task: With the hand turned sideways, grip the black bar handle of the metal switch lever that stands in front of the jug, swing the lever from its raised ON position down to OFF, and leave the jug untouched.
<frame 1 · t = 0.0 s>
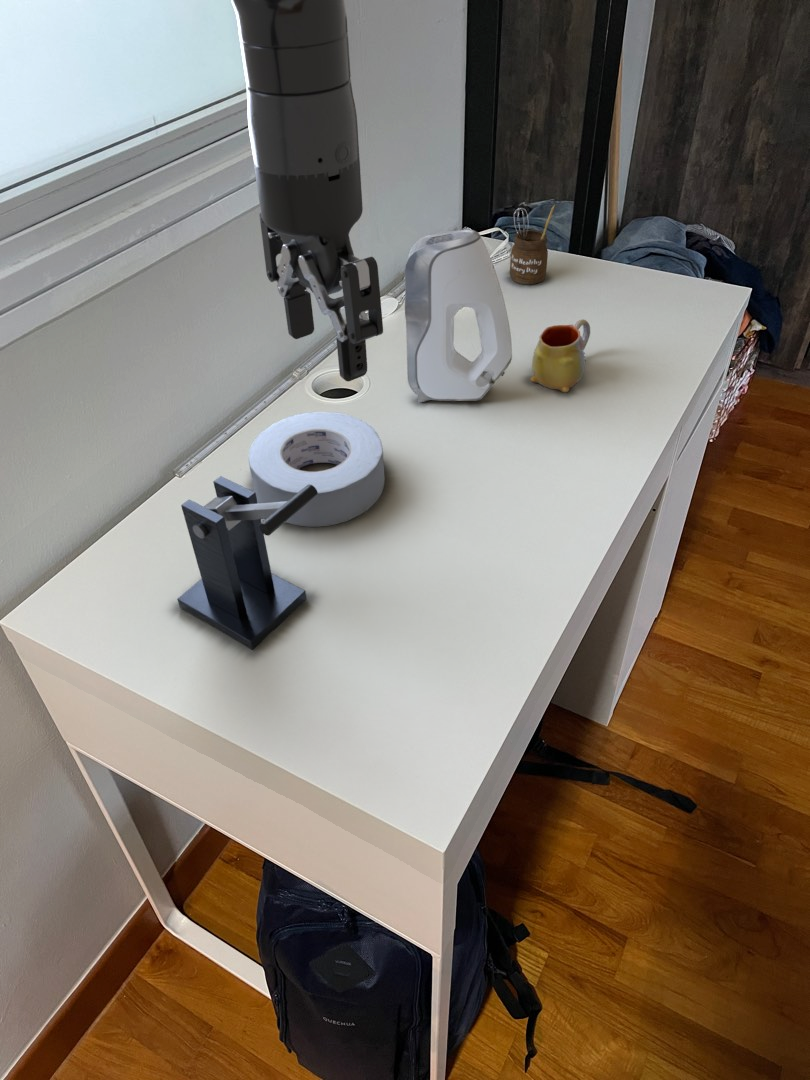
hand: (327, 355, 69), 25 cm above the table, tool pointing down, fingers open, 8 cm apart
utensil holder: (528, 279, 135), on the table
switch lever: (251, 511, 71), point 14 cm above the table, hinge at 28.0°
switch bracket: (243, 603, 83), on the table
mug: (565, 372, 113), on the table
tape roll: (320, 485, 96), on the table
jug: (451, 394, 110), on the table
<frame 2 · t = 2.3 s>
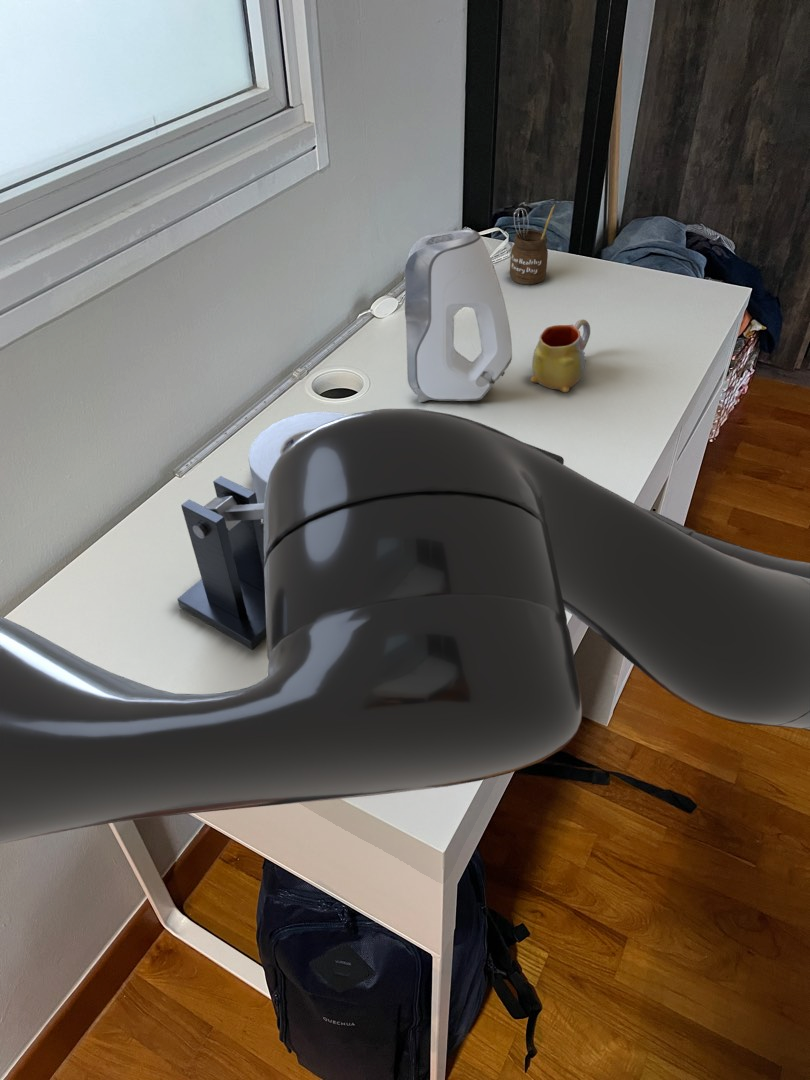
hand: (388, 478, 58), 24 cm above the table, tool horizontal, fingers open, 8 cm apart
nothing on the table moved.
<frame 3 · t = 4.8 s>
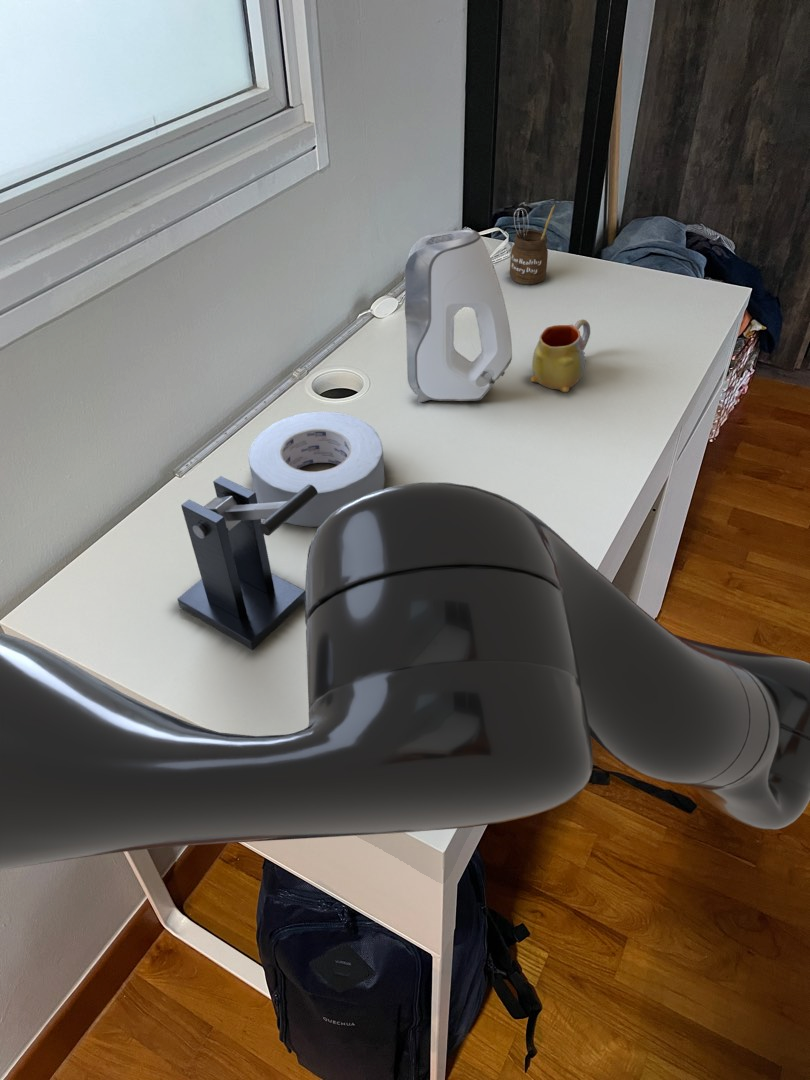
hand: (348, 539, 65), 17 cm above the table, tool horizontal, fingers open, 8 cm apart
nothing on the table moved.
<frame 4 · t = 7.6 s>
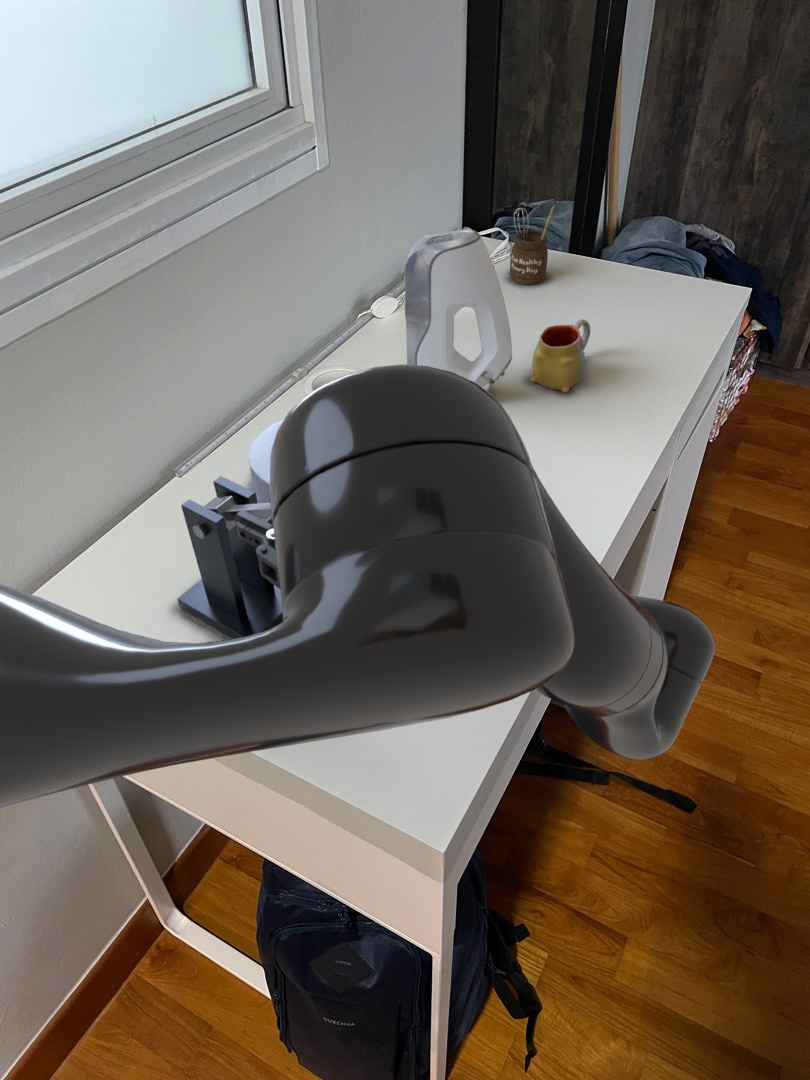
hand: (267, 499, 68), 17 cm above the table, tool horizontal, fingers closed on switch lever, 6 cm apart
switch lever: (251, 511, 71), point 14 cm above the table, hinge at 28.0°, touching gripper
everything else where it was.
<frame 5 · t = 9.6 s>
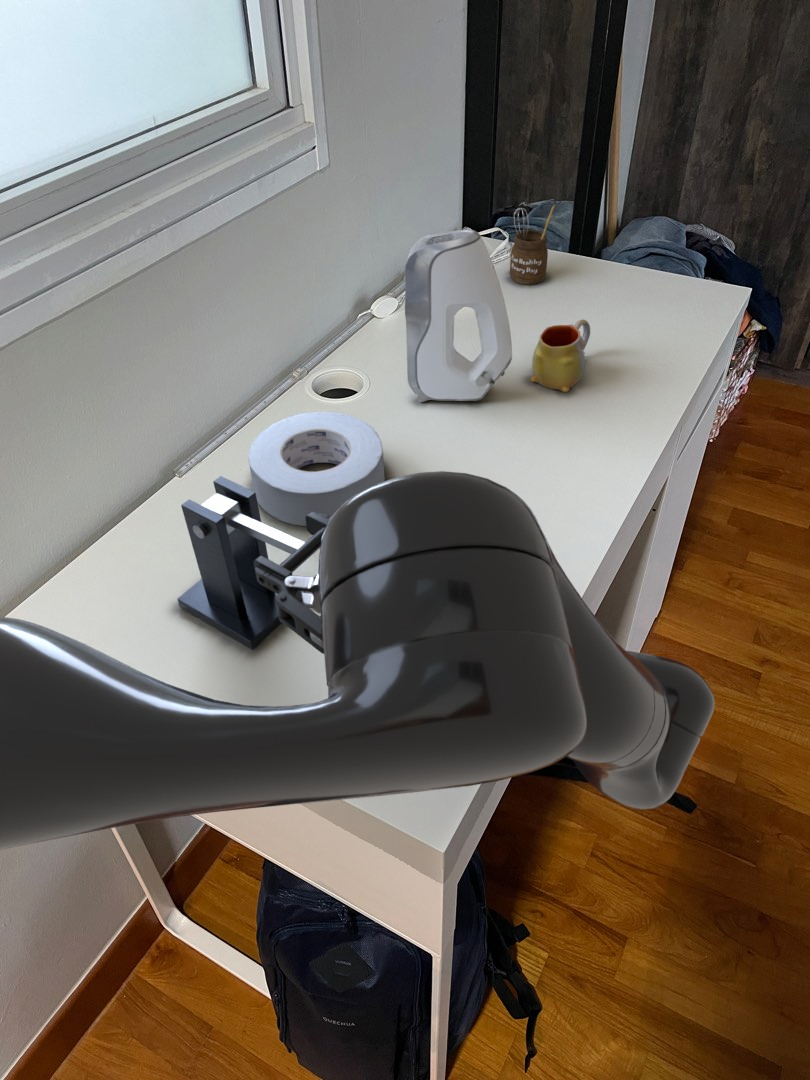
hand: (283, 543, 71), 12 cm above the table, tool horizontal, fingers closed on switch lever, 6 cm apart
switch lever: (259, 530, 72), point 12 cm above the table, hinge at 3.0°, touching gripper
everything else where it was.
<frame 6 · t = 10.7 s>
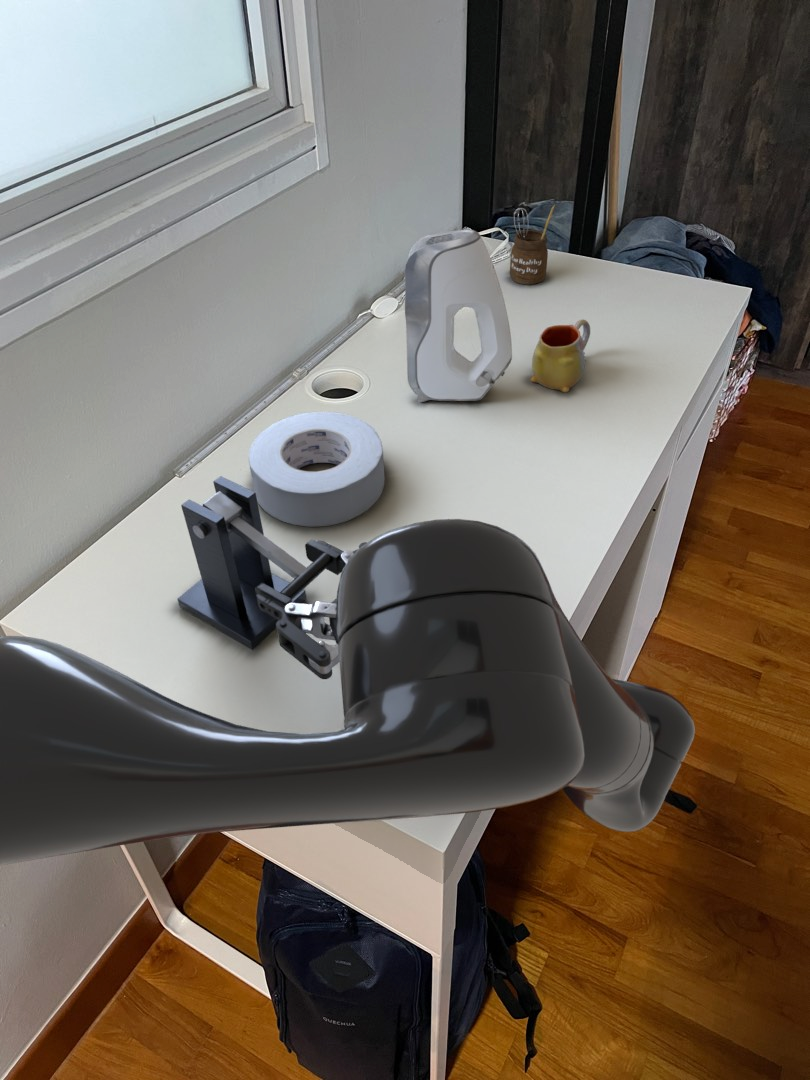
hand: (284, 570, 74), 9 cm above the table, tool horizontal, fingers closed on switch lever, 6 cm apart
switch lever: (260, 542, 73), point 11 cm above the table, hinge at -16.7°, touching gripper
everything else where it was.
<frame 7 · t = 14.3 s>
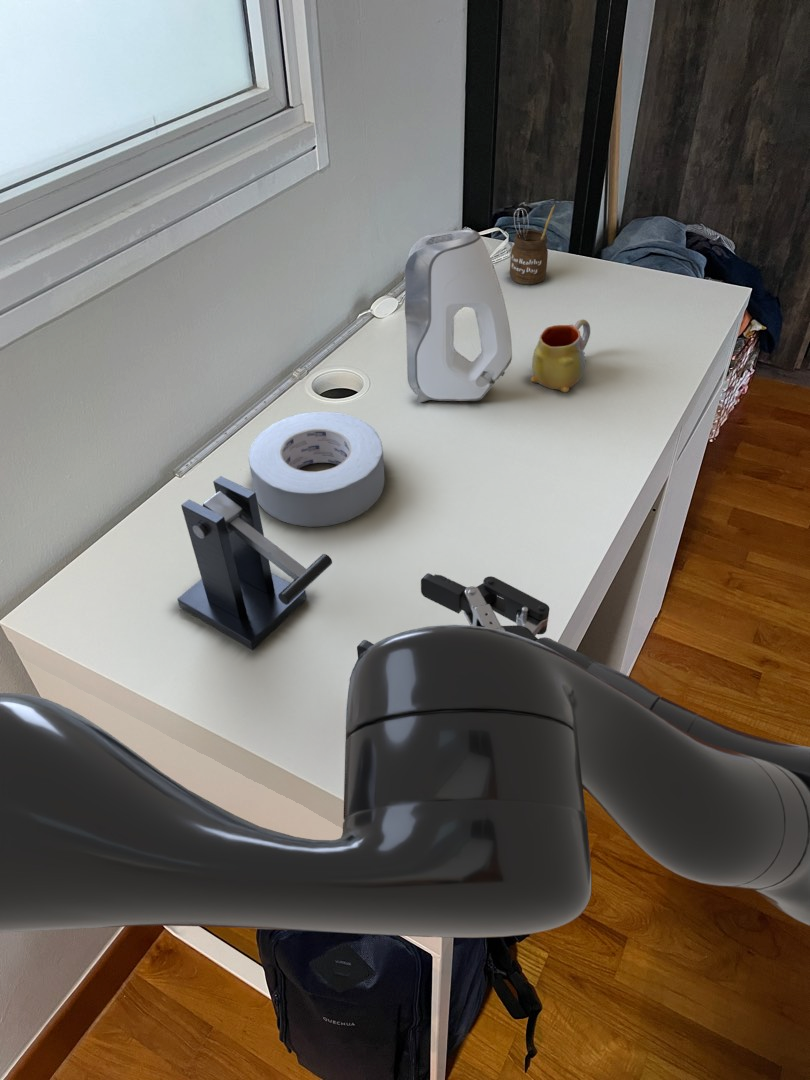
hand: (392, 615, 65), 12 cm above the table, tool horizontal, fingers open, 8 cm apart
switch lever: (260, 543, 73), point 11 cm above the table, hinge at -17.8°
everything else where it was.
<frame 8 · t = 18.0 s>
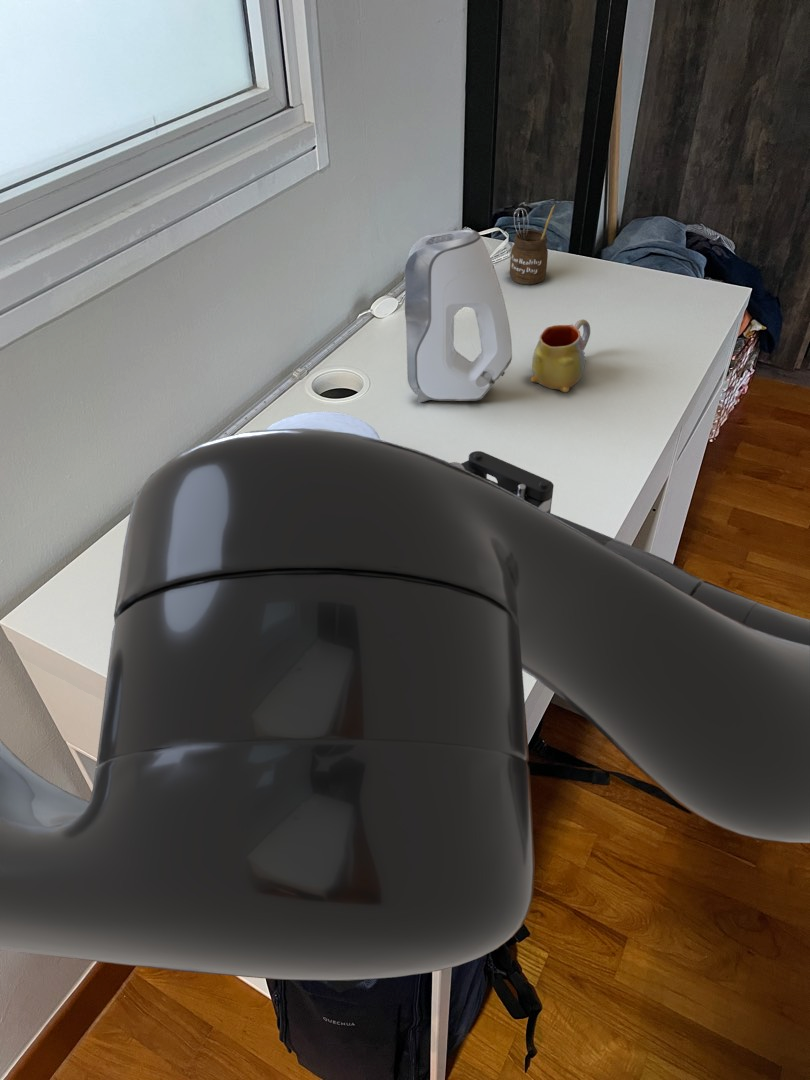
hand: (351, 498, 50), 28 cm above the table, tool horizontal, fingers open, 8 cm apart
nothing on the table moved.
at the end: switch lever at -18° (first picture: +28°); jug moved 0.2 cm from its start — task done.
